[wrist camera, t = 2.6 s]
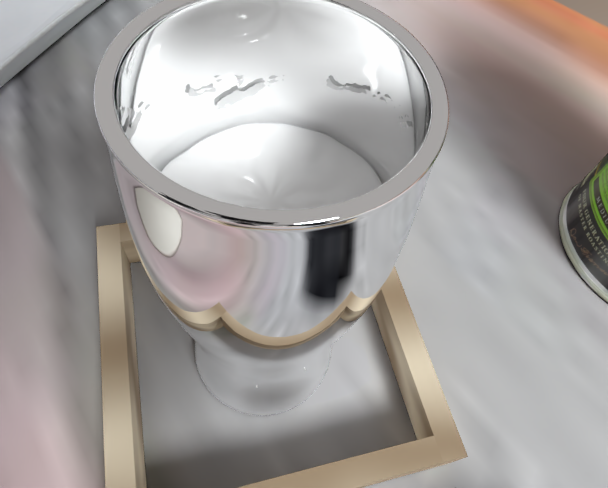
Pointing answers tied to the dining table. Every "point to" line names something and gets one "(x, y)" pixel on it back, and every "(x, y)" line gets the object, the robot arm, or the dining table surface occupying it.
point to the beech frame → (303, 484)
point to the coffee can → (588, 228)
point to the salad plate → (35, 29)
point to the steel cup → (268, 175)
